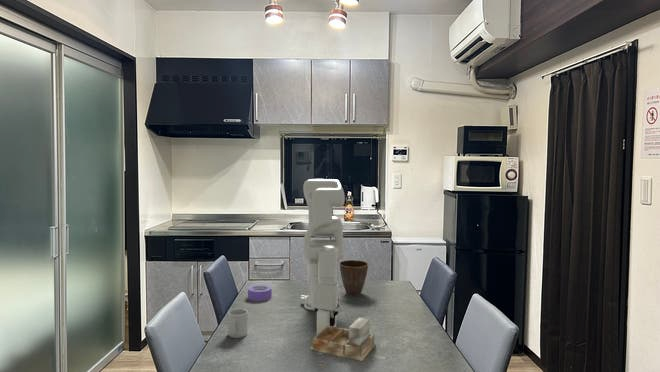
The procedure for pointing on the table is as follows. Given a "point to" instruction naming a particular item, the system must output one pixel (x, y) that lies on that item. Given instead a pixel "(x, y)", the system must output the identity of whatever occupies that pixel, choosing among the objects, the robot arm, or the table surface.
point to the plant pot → (353, 276)
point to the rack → (345, 340)
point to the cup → (238, 323)
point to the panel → (323, 320)
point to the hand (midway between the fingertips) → (326, 324)
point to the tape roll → (259, 292)
